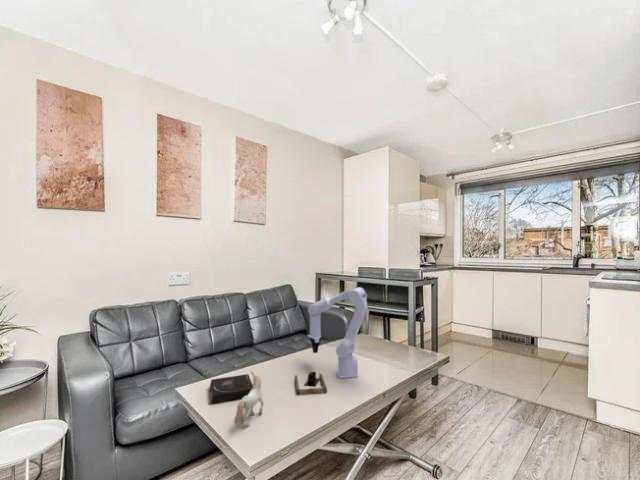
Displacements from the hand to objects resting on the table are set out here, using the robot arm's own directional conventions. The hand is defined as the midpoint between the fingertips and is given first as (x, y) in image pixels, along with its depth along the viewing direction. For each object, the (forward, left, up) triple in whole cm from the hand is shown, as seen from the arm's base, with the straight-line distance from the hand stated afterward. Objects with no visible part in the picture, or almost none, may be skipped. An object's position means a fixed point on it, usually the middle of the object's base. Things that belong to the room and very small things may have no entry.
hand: (315, 352), depth 158 cm
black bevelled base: (+4, +16, -9) cm, 19 cm away
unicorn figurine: (+32, +42, -9) cm, 53 cm away
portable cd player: (+40, +21, -9) cm, 46 cm away
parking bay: (+5, +20, -8) cm, 22 cm away
